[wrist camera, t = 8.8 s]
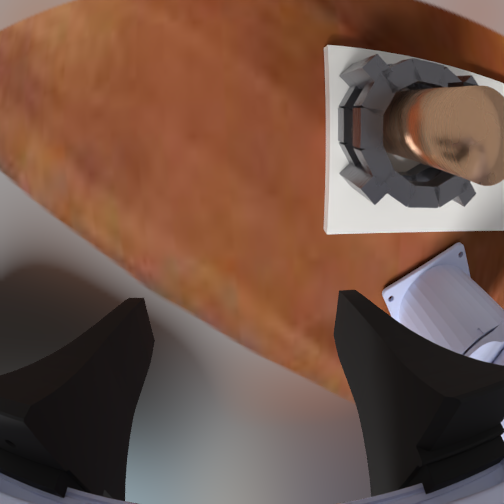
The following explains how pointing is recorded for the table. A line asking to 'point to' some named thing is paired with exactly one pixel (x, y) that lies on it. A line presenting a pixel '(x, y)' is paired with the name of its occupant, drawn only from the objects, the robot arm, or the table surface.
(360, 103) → the collar stand
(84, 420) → the robot arm
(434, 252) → the table surface
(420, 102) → the tube
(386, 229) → the base board
